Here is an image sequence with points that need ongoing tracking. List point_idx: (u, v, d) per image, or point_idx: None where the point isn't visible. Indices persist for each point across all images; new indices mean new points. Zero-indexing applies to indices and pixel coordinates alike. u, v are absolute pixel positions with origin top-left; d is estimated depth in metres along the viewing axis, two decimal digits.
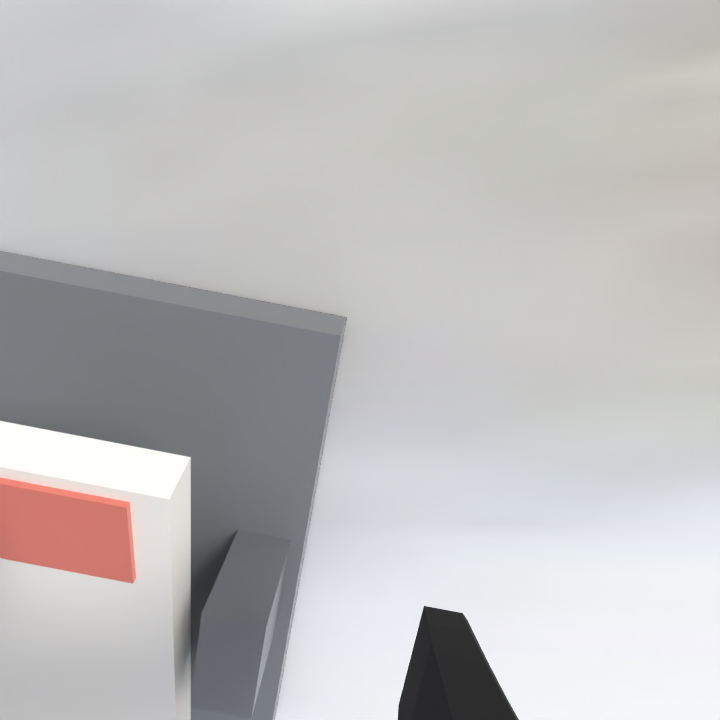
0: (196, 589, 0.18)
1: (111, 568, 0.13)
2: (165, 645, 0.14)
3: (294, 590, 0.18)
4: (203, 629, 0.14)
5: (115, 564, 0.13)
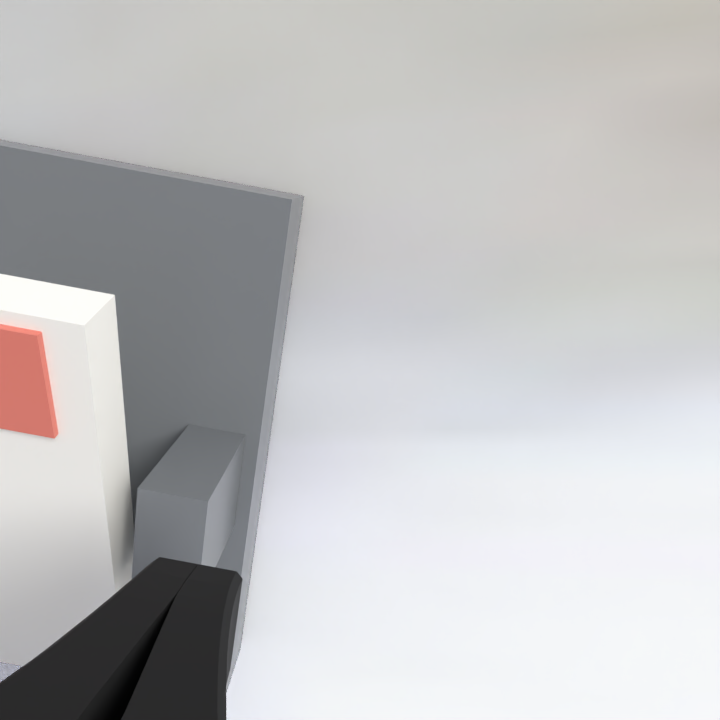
0: None
1: (29, 419, 0.12)
2: (98, 522, 0.13)
3: (251, 492, 0.17)
4: (140, 505, 0.13)
5: (33, 413, 0.11)
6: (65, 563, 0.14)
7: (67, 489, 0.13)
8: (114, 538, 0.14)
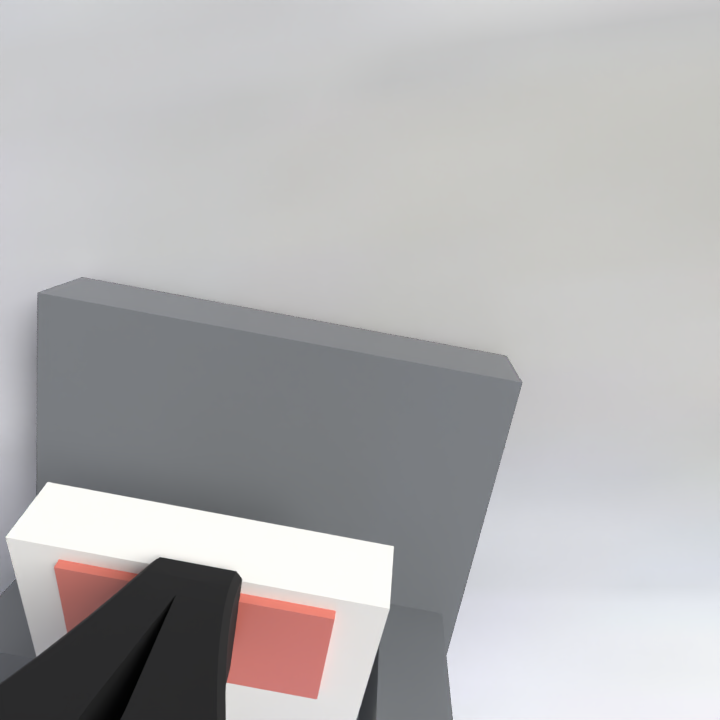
0: None
1: (294, 683, 0.10)
2: None
3: None
4: None
5: (300, 679, 0.10)
6: None
7: None
8: None
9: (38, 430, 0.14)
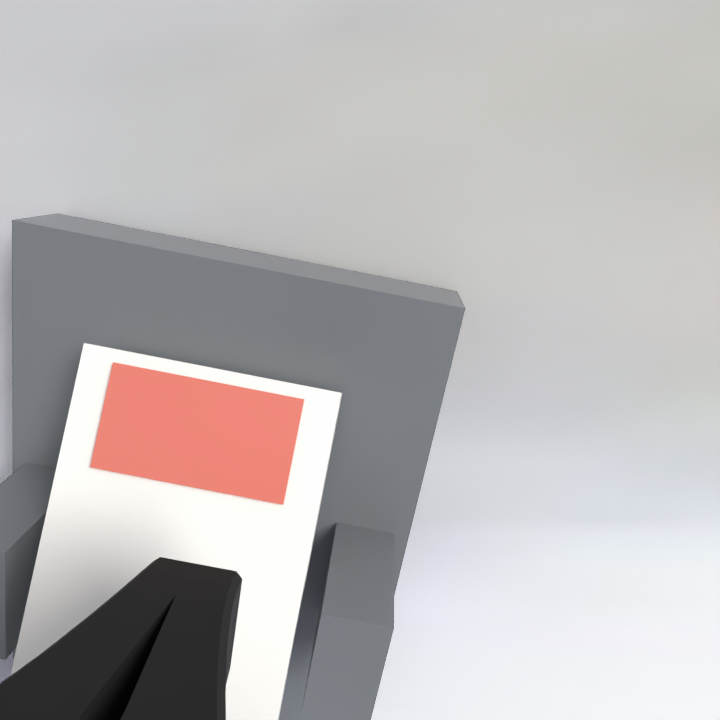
0: None
1: (267, 483, 0.13)
2: (287, 618, 0.13)
3: (394, 588, 0.17)
4: (322, 631, 0.13)
5: (272, 477, 0.13)
6: (231, 686, 0.13)
7: (269, 573, 0.13)
8: (291, 649, 0.14)
9: (14, 354, 0.15)
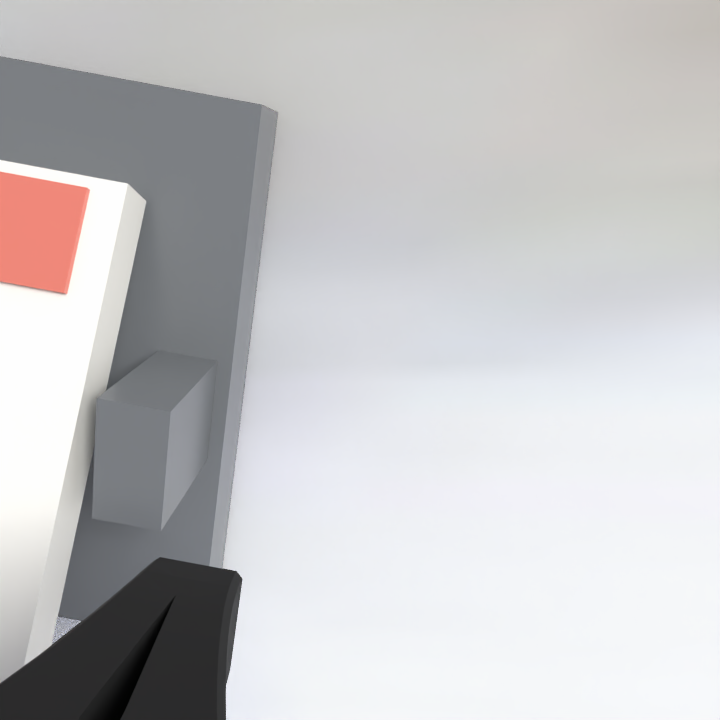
0: None
1: (47, 271, 0.13)
2: (69, 408, 0.13)
3: (224, 423, 0.17)
4: (100, 417, 0.13)
5: (53, 265, 0.13)
6: (9, 478, 0.13)
7: (51, 364, 0.13)
8: (76, 443, 0.13)
9: None
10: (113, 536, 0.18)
